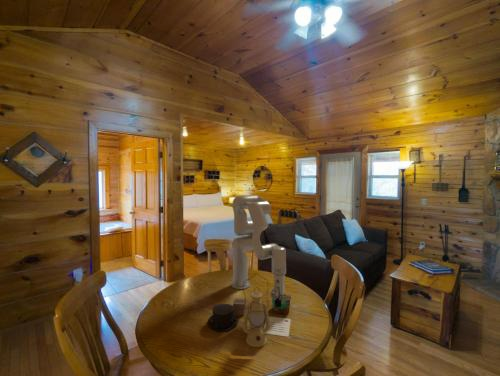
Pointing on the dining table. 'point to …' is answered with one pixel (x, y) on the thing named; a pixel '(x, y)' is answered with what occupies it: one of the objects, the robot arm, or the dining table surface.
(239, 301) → the walnut block
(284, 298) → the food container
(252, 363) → the dining table surface
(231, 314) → the top hat
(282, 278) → the robot arm
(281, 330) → the letter
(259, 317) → the lantern
